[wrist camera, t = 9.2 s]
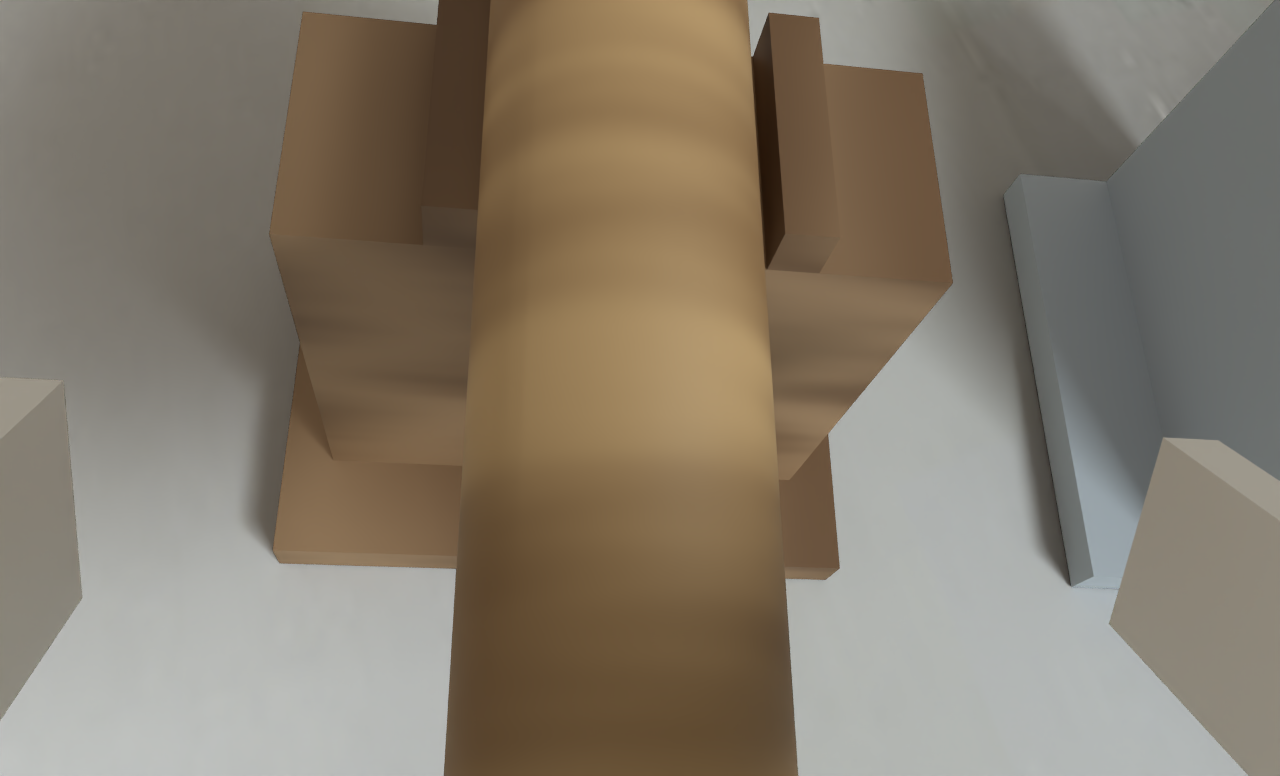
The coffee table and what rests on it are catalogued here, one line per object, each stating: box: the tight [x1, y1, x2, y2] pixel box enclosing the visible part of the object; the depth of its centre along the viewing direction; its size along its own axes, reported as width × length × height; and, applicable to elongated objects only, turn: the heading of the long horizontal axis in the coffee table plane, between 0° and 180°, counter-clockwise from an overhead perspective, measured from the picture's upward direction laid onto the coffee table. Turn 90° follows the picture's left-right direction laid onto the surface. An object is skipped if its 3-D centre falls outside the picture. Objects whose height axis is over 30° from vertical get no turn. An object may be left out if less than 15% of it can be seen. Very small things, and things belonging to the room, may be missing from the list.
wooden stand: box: [269, 0, 953, 580], centre depth 21 cm, size 12×8×11 cm, turn 90°
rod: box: [444, 0, 798, 776], centre depth 15 cm, size 22×4×4 cm, turn 0°
